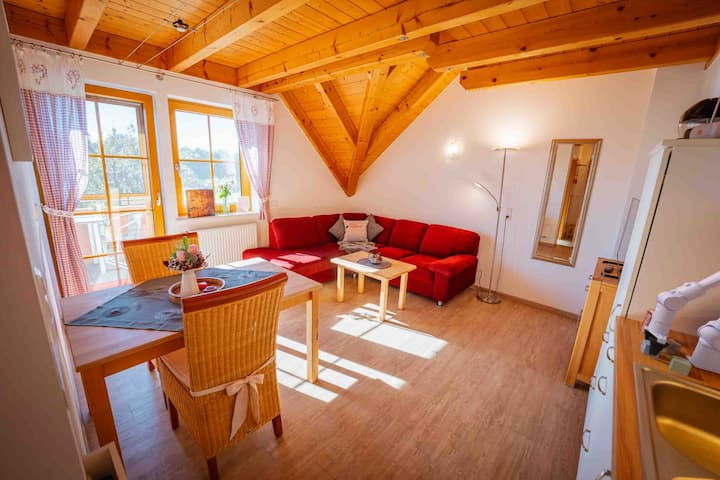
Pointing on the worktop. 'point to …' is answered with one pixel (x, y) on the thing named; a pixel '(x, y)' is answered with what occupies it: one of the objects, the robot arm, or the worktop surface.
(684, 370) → the olive block
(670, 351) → the walnut block
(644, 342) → the slate blue block
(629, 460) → the worktop surface
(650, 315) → the soda can
